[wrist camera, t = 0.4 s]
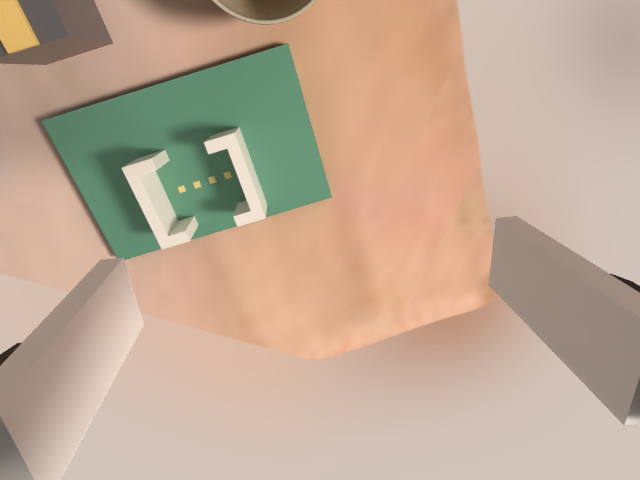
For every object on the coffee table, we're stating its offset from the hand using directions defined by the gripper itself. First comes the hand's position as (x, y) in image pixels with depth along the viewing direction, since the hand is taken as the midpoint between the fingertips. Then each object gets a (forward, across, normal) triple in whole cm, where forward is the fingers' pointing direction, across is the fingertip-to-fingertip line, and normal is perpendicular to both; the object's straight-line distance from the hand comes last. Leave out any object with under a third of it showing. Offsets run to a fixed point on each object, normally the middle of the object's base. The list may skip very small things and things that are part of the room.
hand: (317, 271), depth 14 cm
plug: (+26, -18, +11) cm, 33 cm away
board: (+26, -9, 0) cm, 27 cm away
